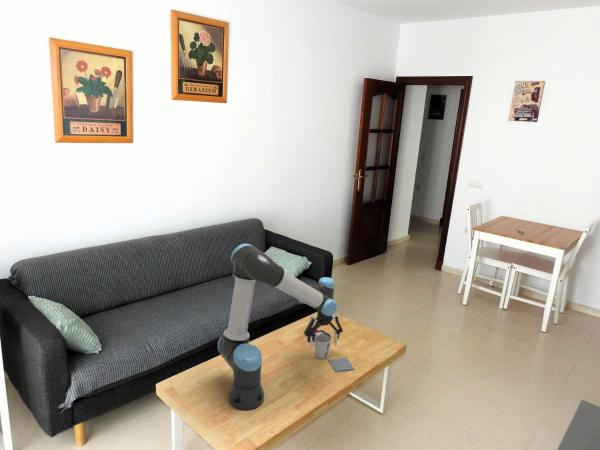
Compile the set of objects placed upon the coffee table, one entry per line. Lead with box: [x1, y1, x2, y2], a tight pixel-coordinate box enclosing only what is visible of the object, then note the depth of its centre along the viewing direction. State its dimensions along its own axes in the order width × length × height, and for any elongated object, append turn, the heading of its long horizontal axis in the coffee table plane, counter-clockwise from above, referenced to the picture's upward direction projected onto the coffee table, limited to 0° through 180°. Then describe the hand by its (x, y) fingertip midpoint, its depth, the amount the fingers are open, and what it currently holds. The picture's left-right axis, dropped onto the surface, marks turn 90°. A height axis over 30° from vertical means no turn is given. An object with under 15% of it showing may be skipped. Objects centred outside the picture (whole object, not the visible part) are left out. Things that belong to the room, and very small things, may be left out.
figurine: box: [311, 329, 332, 342], centre depth 242 cm, size 9×4×15 cm
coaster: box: [328, 357, 355, 373], centre depth 218 cm, size 10×10×1 cm
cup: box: [314, 335, 332, 360], centre depth 224 cm, size 8×8×10 cm
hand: (322, 345), depth 224 cm, fingers open, 13 cm apart
